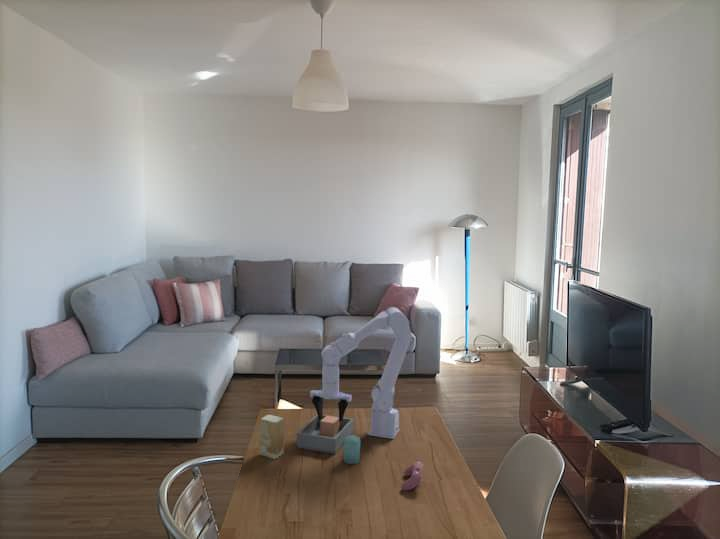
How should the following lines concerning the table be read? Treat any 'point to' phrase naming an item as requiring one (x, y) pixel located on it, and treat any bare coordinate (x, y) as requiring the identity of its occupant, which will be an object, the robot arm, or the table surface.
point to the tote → (315, 441)
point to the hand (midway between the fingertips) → (330, 419)
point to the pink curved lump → (413, 476)
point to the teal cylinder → (352, 449)
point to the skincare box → (272, 436)
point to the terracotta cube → (329, 426)
